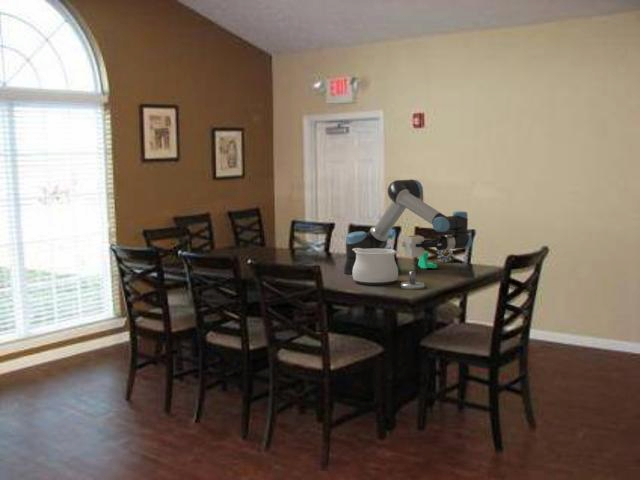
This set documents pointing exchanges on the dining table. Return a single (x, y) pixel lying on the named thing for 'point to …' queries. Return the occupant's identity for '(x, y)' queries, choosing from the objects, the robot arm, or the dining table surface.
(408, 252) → the box with orange strip
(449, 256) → the passion flower
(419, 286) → the hub plate
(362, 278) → the pot
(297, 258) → the dining table surface
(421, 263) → the camera mount
